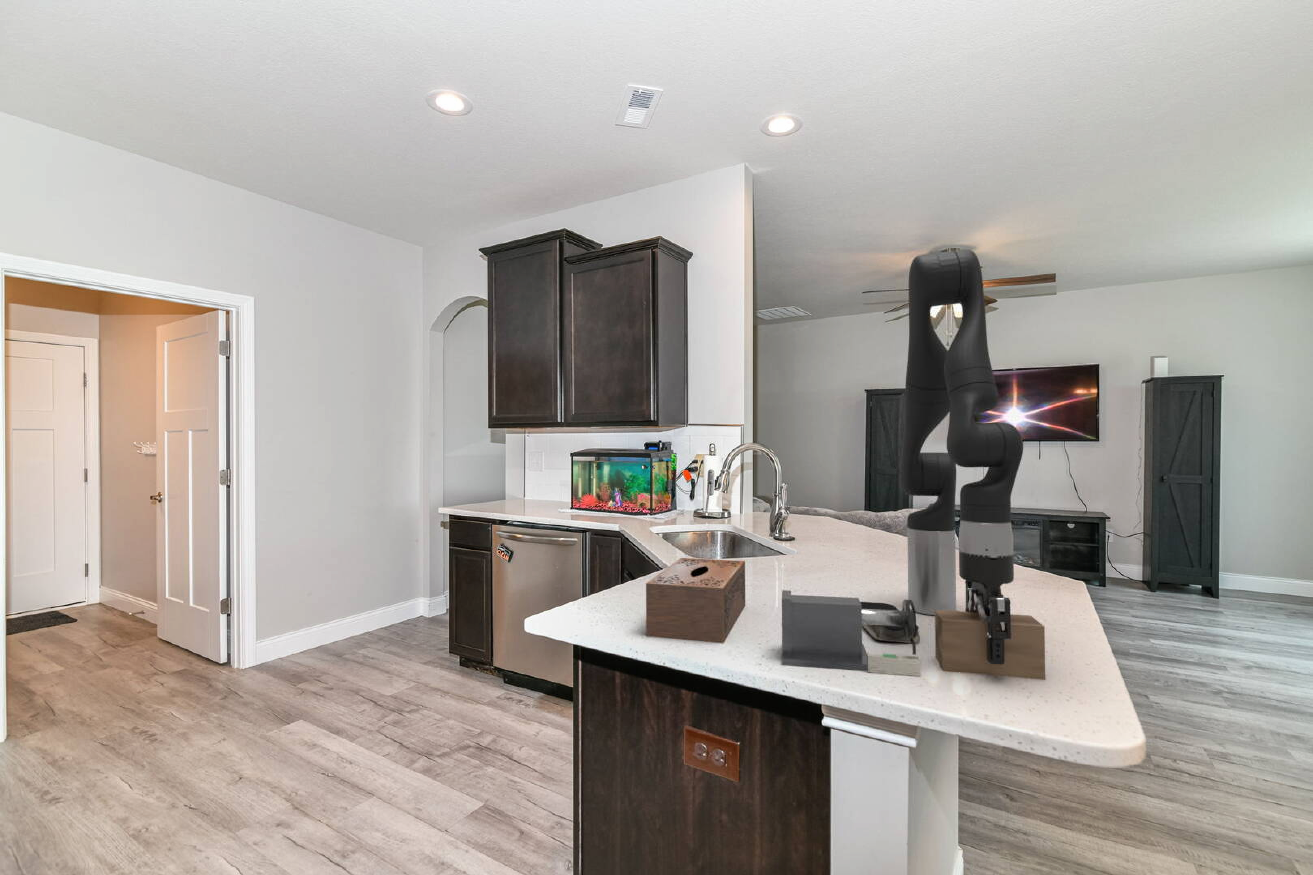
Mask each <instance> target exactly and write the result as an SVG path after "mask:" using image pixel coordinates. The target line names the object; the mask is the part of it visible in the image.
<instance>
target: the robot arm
mask: <svg viewBox="0 0 1313 875" xmlns="http://www.w3.org/2000/svg"><path fill="white" fill-rule="evenodd" d="M984 292H985V291H984V281H983V273H982V266H981V264H980V259H979V258H978V256H977V254H976V253H975V252H974V251H973V250H971V249H955V250H947V251H940V252H933V253H924V254H920V255H917V256H915V257H914V258H913V259H912V261H911V264H910V267H909V272H908V325H909V326H908V329H909V330H908V335H909V336H908V348H907V349H908V351H907V361H906V362H907V364H906V373H905V387H904V388H905V389H904V390H905V392H904V428H903V436H902V437H903V439H902V446H901V453H900V463H899V471H898V473H899V474H898V478H899V479H898V480H899V482H898V483H899V486H900V490H901V491H902V492H903V494H905V495H907V496H914V497H937V498H936V501H935V502H934V503H933V504H931V505H930V506H928V507H925V508H923V509H921V510H917V511H913V512H911V513H909V514H908V515H907V519H906V520H907V521H906V524H907V527H906V528H907V529H906V531H907V533H906V534H907V600H912V601H913V604H914V608H915V613H919V614H923V615H929V616H935V610H946V611H957V567H956V566H957V564H956V563H957V562H956V560H957V558H956V557H957V556H956V553H957V550H956V548H957V547H956V546H957V545H956V490H957V466H958V467H962V468H988V469H987V472H986V473H985V475H984V477H983V478H982V479H980V480H978V481H974V482H968V483H966V484H964V485H962V486H961V488H960V493H959V510H960V512H959V516H960V517H959V519H960V521H959V528H958V529H959V530H958V570H959V571H958V573H959V574H958V576H959V577H960V578H961V579H962V580H965V581H964V583H965V611H964V612H974V613H979V617H980V622H981V623H982V624H984V625H985V630H986V636H987V661H988V662H989V663H990V664H1000V665H1002V664H1004V662H1005V656H1004V639H1005V640H1006V639H1011V614H1012V613H1011V600H1010V597H1005V595H1004V594H1002V589H1001V586H1002V585H1004V584H1005V585H1008V584H1011V583H1013V582H1014V580H1015V579H1014V578H1015V577H1014V576H1015V570H1014V569H1015V567H1014V563H1015V562H1014V534H1013V529H1012V528H1013V527H1012V514H1011V512H1012V511H1011V510H1012V508H1011V507H1012V502H1011V501H1012V500H1011V498H1012V492H1013V489H1014V486H1015V481H1016V478H1017V474H1018V471H1019V468H1020V466H1021V462H1022V459H1023V458H1022V457H1023V455H1024V454H1023V453H1024V441H1023V438H1022V437H1023V436H1022V435H1021V433H1020V431H1019V430H1018V429H1017V427H1015V426H1014V425H1013V424H1011V423H1007V422H976V421H975V416H976V415H979V414H980V415H981V414H984V413H987V412H989V411H992V410H993V409H994V408H995V407H996V406H997V405H998V403H999V392H998V388H997V384H996V380H995V376H994V371H993V368H992V363H991V358H990V354H989V353H990V352H989V345H988V337H987V336H988V334H987V319H986V316H987V315H986V304H985V295H984V294H985V293H984ZM957 304H960V306H961V310H962V313H961V315H962V317H961V323H960V325H959V327H958V330H957V332H956V335H955V336H954V338H953V340H952V342H951V344H950V345H949V348H948V349H947V348H946V346H945V345H944V344H943V342H942V340H941V339H940V338H939V336H938V334H937V332H936V331H935V328H934V327H933V323H932V319H931V318H932V316H931V310H932V308H934V307H939V306H940V307H941V306H946V305H947V306H948V305H957ZM948 414H949V416H948ZM947 416H948V417H949V420H948V431H947V437H946V451H947V452H921V450H922V448H923V445H924V444H925V441H926V440H927V439H928V437H929V435H930V434H932V433H933V431H934V430H935V429H936V428H937V427H938V426H939V425H940V424H941V422H943V421H944V419H945V418H946V417H947ZM996 624H997V625H998V626H999V630H996Z"/></svg>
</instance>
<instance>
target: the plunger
mask: <svg viewBox="0 0 1313 875" xmlns="http://www.w3.org/2000/svg"><path fill="white" fill-rule="evenodd" d="M901 608H902V609H901V610H899V611H894V610H874V609H862V624H869V625H887V626H903V629H904V634H905V637H906V638H909V639H910V642H911V643H910V644H911V645H912V647H911V648H912V649H911V650H912V655H914V656H915V655H916V654H917V650H916V649H917V645H916V644H917V643H915V642H914V640H913V639H914V638H915V634H916V625H917V616H916V612H915V608H914V604H913V601H912V600H908V599H903V601H902V607H901Z"/></svg>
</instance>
